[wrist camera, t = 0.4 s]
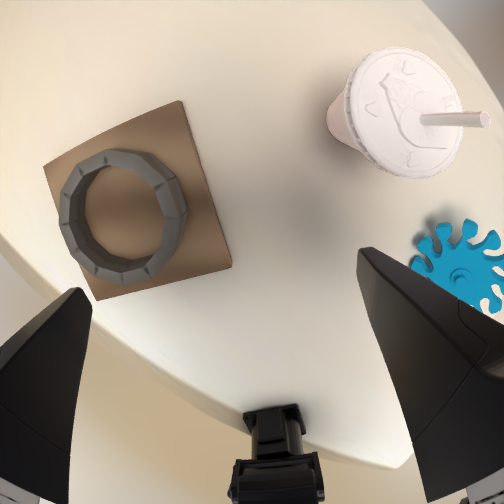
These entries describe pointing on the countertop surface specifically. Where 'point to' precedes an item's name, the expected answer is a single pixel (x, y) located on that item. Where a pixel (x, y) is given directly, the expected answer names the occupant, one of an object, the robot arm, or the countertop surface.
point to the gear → (463, 265)
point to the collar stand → (138, 206)
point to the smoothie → (401, 113)
